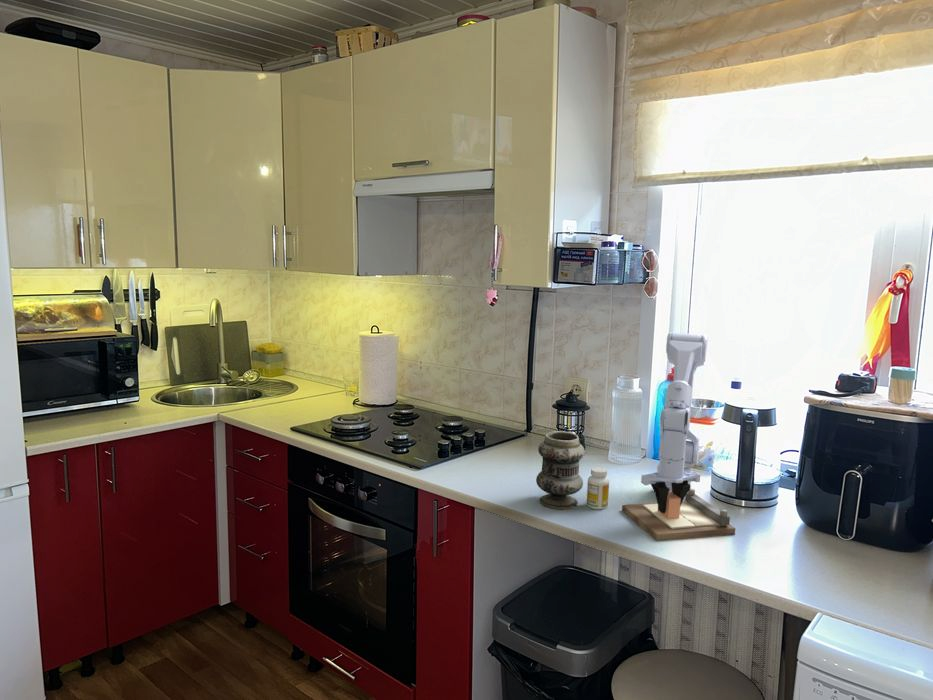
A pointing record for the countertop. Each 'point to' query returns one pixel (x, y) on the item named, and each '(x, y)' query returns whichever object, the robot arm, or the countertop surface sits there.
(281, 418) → the countertop surface
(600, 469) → the supplement bottle
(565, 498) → the apothecary jar
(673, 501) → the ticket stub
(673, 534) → the ticket board
